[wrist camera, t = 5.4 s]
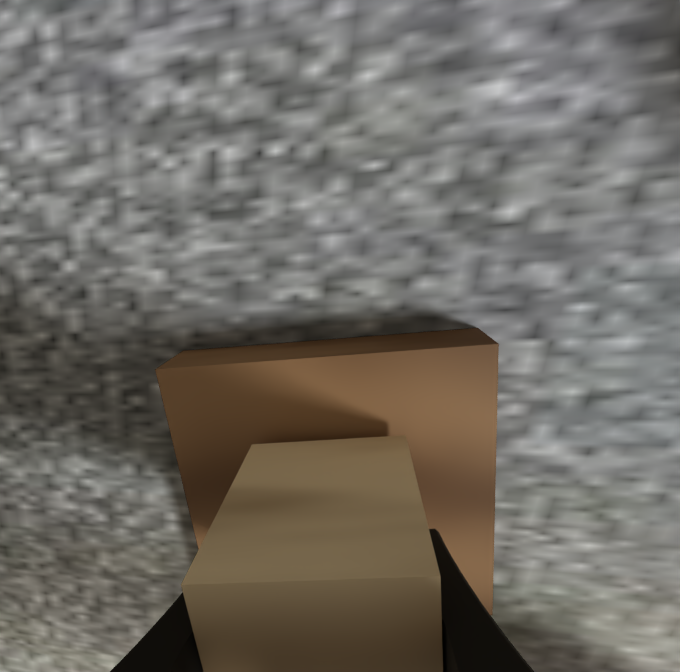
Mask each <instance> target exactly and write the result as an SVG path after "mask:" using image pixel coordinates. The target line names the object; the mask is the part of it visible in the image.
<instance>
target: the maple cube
mask: <svg viewBox="0 0 680 672" xmlns="http://www.w3.org/2000/svg"><path fill="white" fill-rule="evenodd" d="M181 587H182V591H183V595H184V598H185V602H186V606H187V610H188V614H189V618H190V622H191V625H192V629H193V633H194V637H195V641H196V645H197V648H198V652H199V656H200V660H201V664H202V668H203V672H443V648H442V612H441V576H440V572H439V568H438V564H437V560H436V556H435V552H434V548H433V544H432V540H431V536H430V532H429V528H428V524H427V519H426V515H425V511H424V507H423V503H422V499H421V495H420V491H419V487H418V483H417V479H416V475H415V471H414V467H413V463H412V459H411V455H410V451H409V447H408V443H407V439H406V435H402V436H385V437H368V438H351V439H334V440H318V441H301V442H284V443H267V444H252V445H251V447H250V449H249V451H248V453H247V455H246V457H245V459H244V461H243V463H242V465H241V467H240V469H239V471H238V473H237V475H236V477H235V479H234V481H233V483H232V485H231V487H230V489H229V491H228V493H227V495H226V497H225V499H224V501H223V503H222V505H221V507H220V509H219V511H218V513H217V515H216V517H215V519H214V521H213V522H212V524H211V526H210V528H209V530H208V532H207V534H206V536H205V538H204V540H203V542H202V544H201V546H200V548H199V550H198V552H197V554H196V556H195V558H194V560H193V562H192V564H191V566H190V568H189V570H188V572H187V574H186V576H185V578H184V580H183V582H182V584H181Z"/></svg>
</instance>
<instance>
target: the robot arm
mask: <svg viewBox="0 0 680 672" xmlns="http://www.w3.org/2000/svg"><path fill="white" fill-rule="evenodd" d="M429 532H430V536H431V540H432V544H433V548H434V552H435V556H436V560H437V564H438V568H439V572H440V576H441V612H442V648H443V672H534V671H533V670H532V668H531V667H530V666H529V665H528V664H527V662H526V661H525V660H524V659H523V658H522V656H521V655H520V654H519V652H518V651H517V650H516V649H515V647H514V646H513V645H512V644H511V642H510V641H509V640H508V638H507V637H506V636H505V635H504V633H503V632H502V630H501V629H500V628H499V626H498V625H497V624H496V622H495V621H494V620H493V618H492V617H491V616H490V614H489V613H488V611H487V610H486V609H485V607H484V606H483V604H482V603H481V601H480V600H479V598H478V597H477V595H476V594H475V592H474V591H473V589H472V588H471V587H470V585H469V584H468V582H467V580H466V579H465V577H464V576H463V574H462V573H461V571H460V569H459V568H458V566H457V564H456V563H455V561H454V559H453V558H452V556H451V554H450V552H449V551H448V549H447V547H446V545H445V543H444V541H443V539H442V537H441V535H440V533H439V532H438V531H437V530H436V529H429ZM110 672H203V668H202V664H201V660H200V656H199V652H198V648H197V645H196V641H195V637H194V633H193V629H192V625H191V622H190V618H189V614H188V610H187V606H186V602H185V598H184V595H183V593H182V594H181V595H180V596H179V597H178V599H177V600H176V601H175V602H174V603H173V605H172V606H171V607H170V608H169V609H168V610H167V611H166V613H165V614H164V615H163V616H162V617H161V618H160V619H159V620H158V622H157V623H156V624H155V625H154V626H153V627H152V628H151V629H150V630H149V631H148V633H147V634H146V635H145V636H144V637H143V638H142V639H141V640H140V641H139V642H138V644H137V645H136V646H135V647H134V648H133V649H132V650H131V651H130V652H129V653H128V654H127V655H126V656H125V657H124V658H123V659H122V660H121V661H120V662H119V663H118V664H117V665H116V666H115V667H114V668H113V669H112V670H111V671H110Z"/></svg>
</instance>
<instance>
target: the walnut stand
mask: <svg viewBox="0 0 680 672" xmlns="http://www.w3.org/2000/svg"><path fill="white" fill-rule="evenodd" d="M498 346H499V344H498V343H497V342H495V341H494V340H493V339H492V338H490V337H489V336H488V335H486V334H485V333H484V332H482V331H481V330H480V329H479V328H470V329H457V330H444V331H431V332H418V333H405V334H393V335H380V336H367V337H354V338H341V339H328V340H315V341H302V342H290V343H277V344H264V345H251V346H238V347H225V348H212V349H199V350H187V351H182V352H181V353H179V354H178V355H176V356H175V357H173V358H172V359H170V360H169V361H167V362H166V363H164V364H163V365H161V366H160V367H158V368H157V369H155V371H156V375H157V379H158V383H159V387H160V392H161V396H162V400H163V404H164V408H165V412H166V416H167V421H168V425H169V429H170V433H171V437H172V441H173V445H174V450H175V454H176V458H177V462H178V466H179V470H180V475H181V479H182V483H183V487H184V491H185V495H186V499H187V504H188V508H189V512H190V516H191V520H192V524H193V528H194V533H195V537H196V541H197V545H198V549H199V548H200V546H201V544H202V542H203V540H204V538H205V536H206V534H207V532H208V530H209V528H210V526H211V524H212V522H213V521H214V519H215V517H216V515H217V513H218V511H219V509H220V507H221V505H222V503H223V501H224V499H225V497H226V495H227V493H228V491H229V489H230V487H231V485H232V483H233V481H234V479H235V477H236V475H237V473H238V471H239V469H240V467H241V465H242V463H243V461H244V459H245V457H246V455H247V453H248V451H249V449H250V447H251V445H252V444H267V443H284V442H301V441H318V440H334V439H351V438H368V437H385V436H402V435H406V439H407V443H408V447H409V451H410V455H411V459H412V463H413V467H414V471H415V475H416V479H417V483H418V487H419V491H420V495H421V499H422V503H423V507H424V511H425V515H426V519H427V524H428V528H429V529H436V530H437V531H438V532H439V533H440V535H441V537H442V539H443V541H444V543H445V545H446V547H447V549H448V551H449V552H450V554H451V556H452V558H453V559H454V561H455V563H456V564H457V566H458V568H459V569H460V571H461V573H462V574H463V576H464V577H465V579H466V580H467V582H468V584H469V585H470V587H471V588H472V589H473V591H474V592H475V594H476V595H477V597H478V598H479V600H480V601H481V603H482V604H483V606H484V607H485V609H486V610H487V611H488V613H489V614H490V615H492V609H493V565H494V521H495V477H496V433H497V390H498Z"/></svg>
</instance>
